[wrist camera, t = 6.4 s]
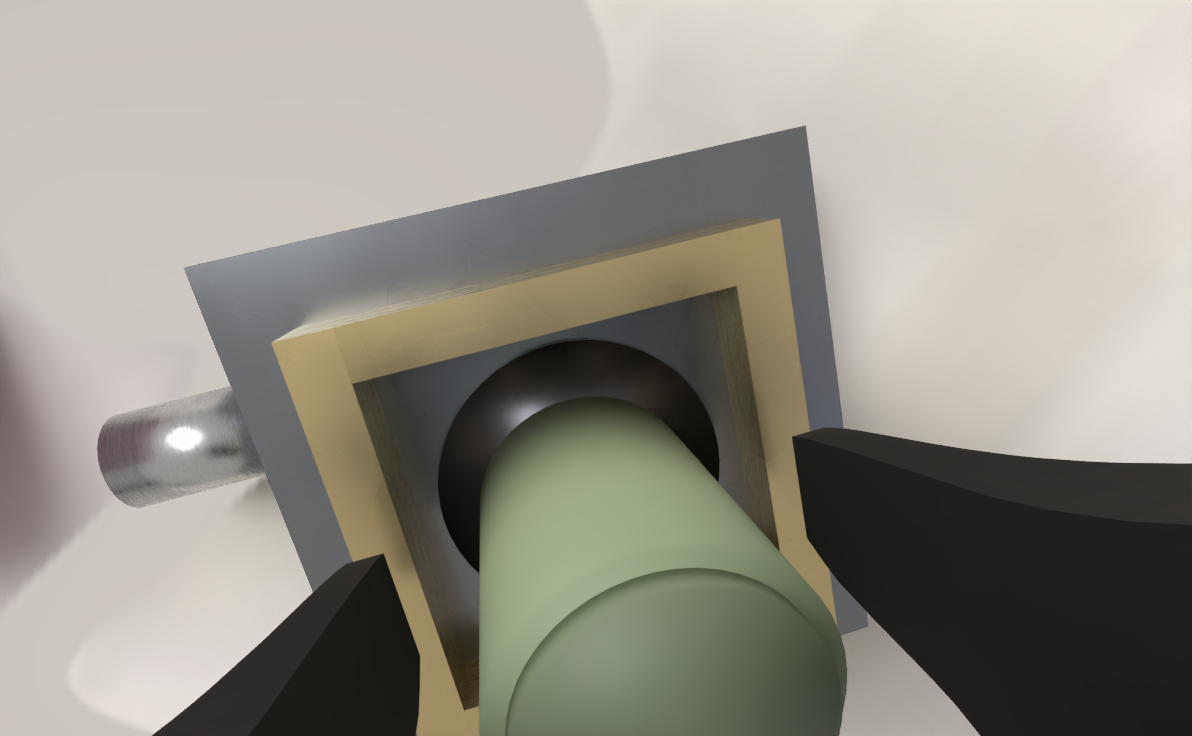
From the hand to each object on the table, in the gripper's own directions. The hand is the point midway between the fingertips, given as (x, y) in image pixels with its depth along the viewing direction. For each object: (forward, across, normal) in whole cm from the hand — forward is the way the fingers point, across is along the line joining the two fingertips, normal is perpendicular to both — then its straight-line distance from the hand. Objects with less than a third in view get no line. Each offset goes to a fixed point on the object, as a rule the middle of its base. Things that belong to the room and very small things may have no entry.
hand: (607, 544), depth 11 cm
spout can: (+3, 0, 0) cm, 3 cm away
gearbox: (+6, +1, 0) cm, 6 cm away
